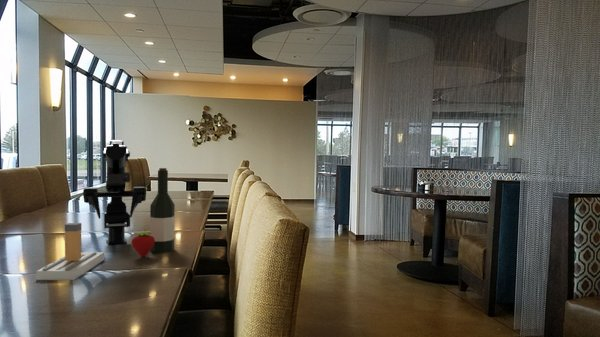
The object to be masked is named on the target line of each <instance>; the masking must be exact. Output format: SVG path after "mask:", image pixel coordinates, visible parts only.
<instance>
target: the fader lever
mask: <svg viewBox="0 0 600 337" xmlns="http://www.w3.org/2000/svg"><path fill="white" fill-rule="evenodd" d="M81 252H82V222H68V223H66V224H64V256H65V261H78V260H79V259H81Z"/></svg>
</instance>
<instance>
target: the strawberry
mask: <svg viewBox="0 0 600 337" xmlns="http://www.w3.org/2000/svg"><path fill="white" fill-rule="evenodd" d="M143 230H144V231H142V232H141V233H136V234H135V236H134V237H132V239H131V243H130V244H131V247H132V248H133V250H134V251H136V253H137V254H138V255H139V256H140V257H141V258H145V257H146V256H147V255H148V254H149V253H150V252H151V251H150V250H151V249H152V247H153V245H154V242H155V239H154V237H153V236H151V235H150V234H152V233H150V232H146V230H145V228H143Z"/></svg>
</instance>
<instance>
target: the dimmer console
mask: <svg viewBox="0 0 600 337" xmlns="http://www.w3.org/2000/svg"><path fill="white" fill-rule="evenodd" d="M104 260H105V252H101V251H100V252H99V251H93V252H91V251H86V252H84V251H83V252H82V251H81V259H79V260H78V261H65V255H64V256H62V257H61V258H59V259H57V260H55V261H53V262H51V263H49V264H46V265H44V266H43V267H42V268H40V269H38V270H36V281H75V280H76V279H78V278H79V277H81V276H83V275H84V274H85V273H87V272H88V271H90V270H91V269H92V268H94V267H95V266H98V264H100V263H101V262H103V261H104Z"/></svg>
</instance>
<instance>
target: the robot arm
mask: <svg viewBox="0 0 600 337" xmlns="http://www.w3.org/2000/svg"><path fill="white" fill-rule="evenodd" d="M124 142H125V141H124V140H122V139H111V140H109V144H107V145H106V147H104V148H103V149H104V150H103V158H104V159H105V162H106V179H105V189H106V190H105V191H103V190H102V191H99V190H98V187H96V186H95V187H93V186H92V187H85V188H84V189H83V193H82V194H83V195H82V196H83V201H84V203H85V204H88V205H91V206H92V207H93V209H94V210H95V213H96V215H97V218H98V219H99V220H100V219H101V208H100V200H99V198H110V202H108V203H107V205H106V211H105V212H104V216H103V217H104V219H103V221H104V225H103V226H104V229H107V230H108V231H107V234H108V235H107V237H108V238H107V239H108V240H105V242H106V244H108V246H112V245H120V244H127V243H128V242H127V240H126V239H125V236H126V235H125V228H129V227H130V226H131V218H132V217H133V215H134V212H135V210H136V208H137V207H138V205H139V204H142V203H143V202H145V201H146V200H147V188H146V187H145V186H133V188H132V189H133V190H126V183H127V184H128V183H131V172H126V167H127V162H129V157H131V152H130V151H129V147H128V146H126V145H125V143H124ZM125 197H126V198H127V197H128V198H129V197H130V198H132V199H131V206H130V211H127V205H126V202H124V201H123V198H125Z"/></svg>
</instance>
